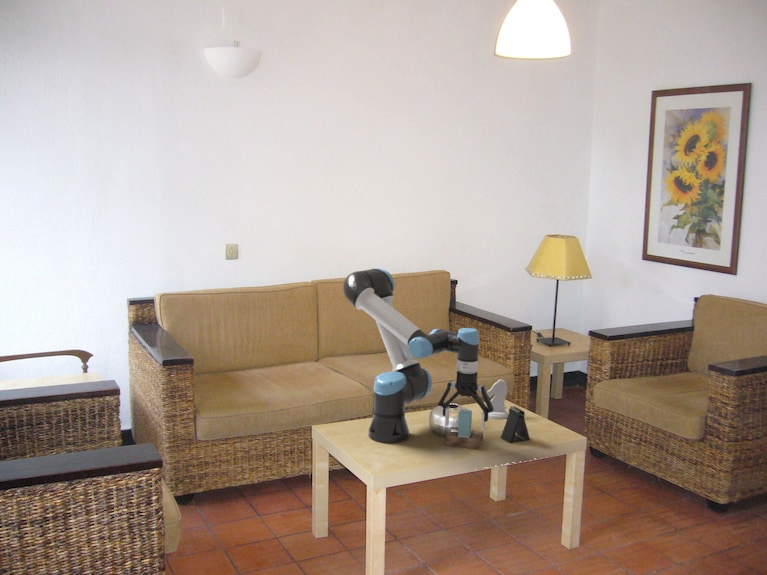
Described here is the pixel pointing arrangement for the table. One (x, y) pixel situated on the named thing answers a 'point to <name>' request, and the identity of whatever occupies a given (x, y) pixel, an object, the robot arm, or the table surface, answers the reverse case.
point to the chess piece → (498, 400)
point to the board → (464, 440)
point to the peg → (464, 423)
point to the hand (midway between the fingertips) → (464, 427)
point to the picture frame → (515, 427)
